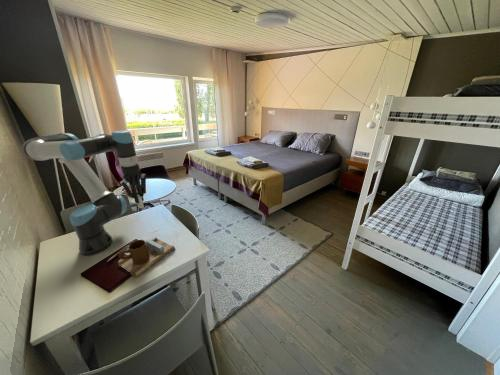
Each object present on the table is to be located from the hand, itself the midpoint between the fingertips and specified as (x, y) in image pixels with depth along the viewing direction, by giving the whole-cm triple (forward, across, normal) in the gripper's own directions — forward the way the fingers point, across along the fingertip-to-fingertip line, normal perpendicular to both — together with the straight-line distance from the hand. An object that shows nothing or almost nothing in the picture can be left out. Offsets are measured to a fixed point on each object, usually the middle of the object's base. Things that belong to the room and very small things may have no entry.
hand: (141, 207), depth 107 cm
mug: (+21, -14, -10) cm, 27 cm away
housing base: (+22, -8, -11) cm, 26 cm away
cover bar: (+21, -4, -11) cm, 24 cm away
